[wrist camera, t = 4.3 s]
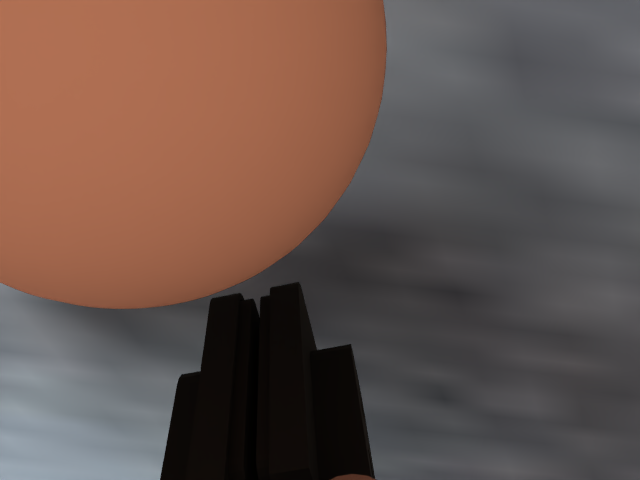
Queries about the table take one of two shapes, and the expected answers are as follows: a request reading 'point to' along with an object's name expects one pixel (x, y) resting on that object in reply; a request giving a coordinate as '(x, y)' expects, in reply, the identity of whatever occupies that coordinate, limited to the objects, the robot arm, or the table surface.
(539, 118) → the table surface
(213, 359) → the robot arm
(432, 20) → the table surface
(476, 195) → the table surface
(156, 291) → the ball
